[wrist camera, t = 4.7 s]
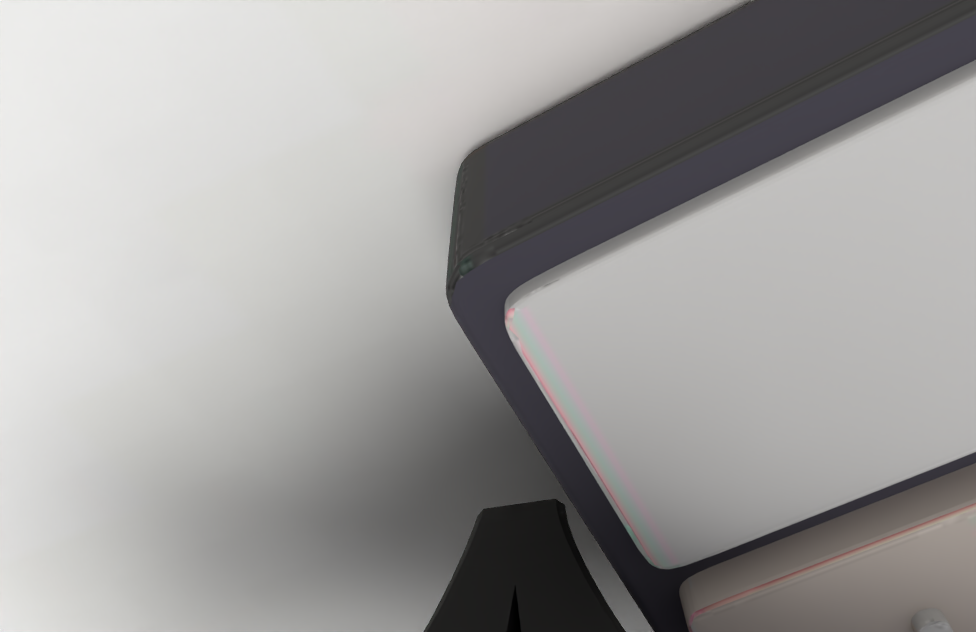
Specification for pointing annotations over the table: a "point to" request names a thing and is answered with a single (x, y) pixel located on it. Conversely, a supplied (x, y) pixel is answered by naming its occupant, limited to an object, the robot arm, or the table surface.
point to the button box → (751, 314)
